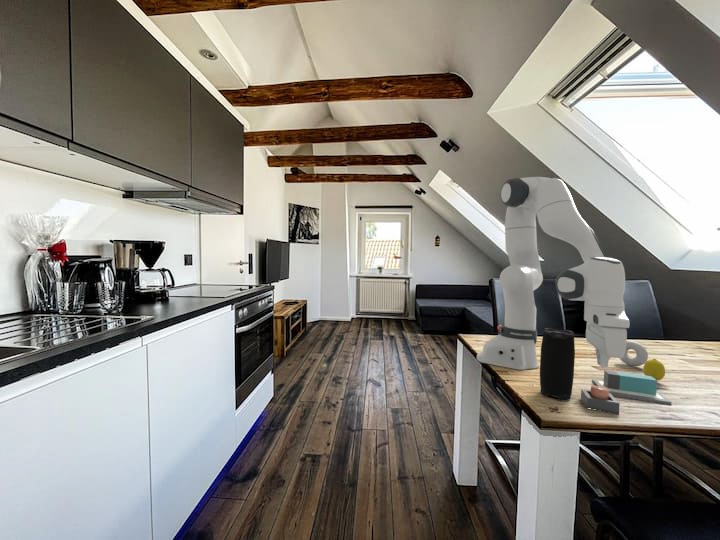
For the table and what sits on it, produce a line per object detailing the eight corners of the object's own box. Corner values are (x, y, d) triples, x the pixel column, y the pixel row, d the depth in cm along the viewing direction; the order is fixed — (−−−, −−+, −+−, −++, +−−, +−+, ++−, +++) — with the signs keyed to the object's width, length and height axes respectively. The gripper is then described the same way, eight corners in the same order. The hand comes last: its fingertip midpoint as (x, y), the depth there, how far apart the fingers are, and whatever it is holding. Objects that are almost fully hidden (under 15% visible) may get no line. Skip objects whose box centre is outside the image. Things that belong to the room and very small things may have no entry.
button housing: (587, 408, 87) (587, 398, 87) (580, 399, 94) (581, 388, 94) (619, 414, 85) (619, 403, 84) (609, 403, 91) (610, 393, 91)
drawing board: (603, 394, 98) (603, 391, 98) (592, 381, 109) (592, 378, 109) (671, 404, 92) (671, 401, 92) (652, 389, 103) (652, 387, 103)
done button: (592, 400, 88) (593, 389, 88) (588, 395, 92) (589, 384, 92) (610, 403, 86) (611, 392, 86) (605, 397, 90) (606, 387, 90)
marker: (607, 388, 101) (608, 373, 101) (603, 383, 104) (604, 370, 104) (656, 395, 96) (657, 380, 96) (650, 390, 100) (651, 376, 100)
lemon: (668, 385, 107) (670, 361, 107) (649, 383, 108) (651, 360, 108) (657, 379, 113) (658, 357, 112) (638, 378, 114) (640, 355, 114)
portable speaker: (571, 393, 97) (575, 329, 97) (572, 405, 89) (576, 335, 89) (539, 387, 102) (542, 325, 101) (537, 397, 94) (541, 330, 93)
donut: (649, 369, 124) (650, 343, 124) (645, 370, 123) (646, 344, 123) (618, 361, 133) (619, 337, 133) (614, 362, 132) (615, 338, 131)
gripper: (580, 310, 99) (579, 355, 99) (601, 320, 80) (599, 375, 80) (605, 311, 97) (604, 357, 97) (632, 322, 78) (631, 379, 78)
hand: (602, 365), depth 88 cm, fingers closed
